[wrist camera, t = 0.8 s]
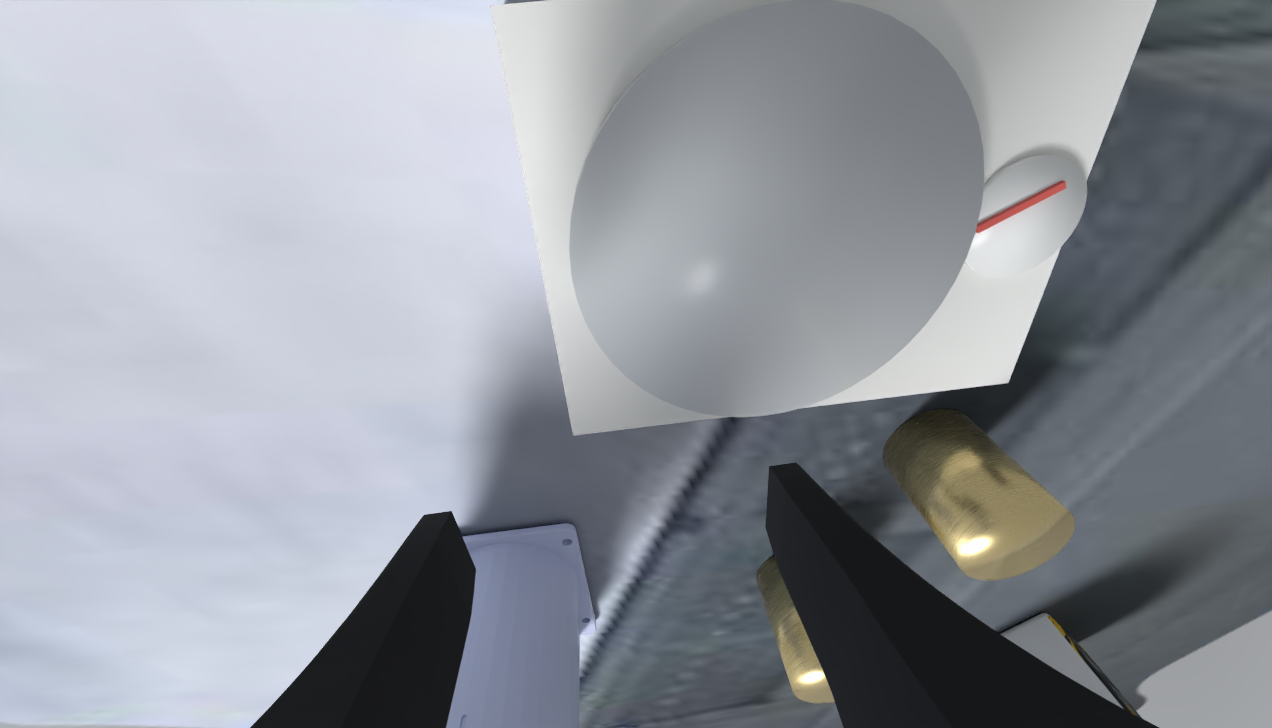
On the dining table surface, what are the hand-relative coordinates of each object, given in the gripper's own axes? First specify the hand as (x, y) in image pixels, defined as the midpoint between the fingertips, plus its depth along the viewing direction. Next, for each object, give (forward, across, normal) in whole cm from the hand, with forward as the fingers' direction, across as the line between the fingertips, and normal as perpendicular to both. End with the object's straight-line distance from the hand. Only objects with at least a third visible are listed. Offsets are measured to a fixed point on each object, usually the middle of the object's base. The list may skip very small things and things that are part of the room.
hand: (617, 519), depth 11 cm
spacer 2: (+10, -15, +9) cm, 20 cm away
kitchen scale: (+10, -7, -3) cm, 13 cm away
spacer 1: (+10, -9, +18) cm, 22 cm away
